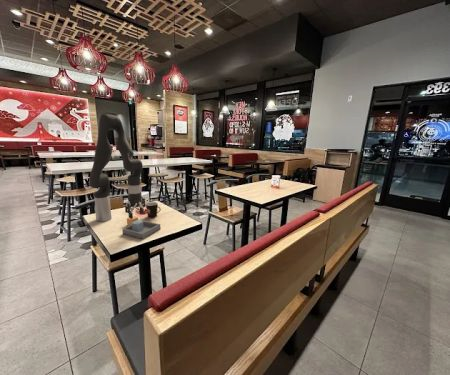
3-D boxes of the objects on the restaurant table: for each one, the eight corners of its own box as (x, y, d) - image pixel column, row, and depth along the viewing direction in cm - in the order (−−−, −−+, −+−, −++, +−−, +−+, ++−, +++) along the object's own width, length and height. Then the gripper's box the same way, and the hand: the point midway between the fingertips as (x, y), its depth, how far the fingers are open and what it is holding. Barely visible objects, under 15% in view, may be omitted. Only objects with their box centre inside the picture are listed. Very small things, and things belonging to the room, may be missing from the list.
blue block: (131, 230, 136) (131, 222, 135) (137, 227, 140) (137, 220, 139) (138, 231, 134) (137, 224, 133) (143, 228, 138) (143, 221, 137)
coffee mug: (144, 215, 162) (143, 203, 160) (155, 213, 168) (155, 201, 165) (150, 220, 154) (149, 207, 151) (162, 217, 159) (161, 205, 157)
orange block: (127, 225, 145) (126, 218, 144) (132, 222, 150) (132, 215, 149) (132, 226, 143) (132, 219, 142) (138, 223, 148) (137, 217, 147)
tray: (122, 234, 132) (122, 229, 131) (141, 224, 146) (141, 220, 145) (142, 239, 126) (142, 234, 125) (160, 229, 140) (160, 224, 139)
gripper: (138, 188, 139) (140, 211, 143) (120, 193, 126) (122, 218, 130) (147, 189, 136) (148, 213, 140) (130, 195, 123) (132, 221, 127)
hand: (136, 216), depth 135 cm, fingers open, 8 cm apart
